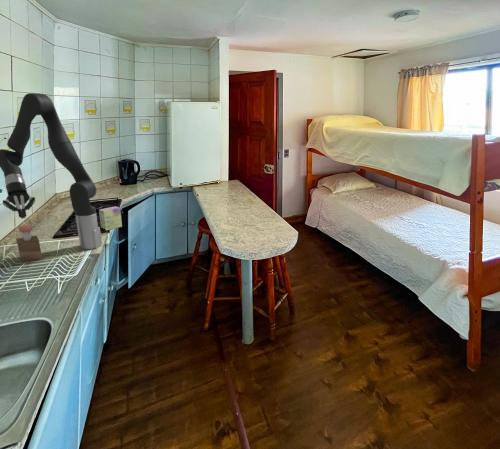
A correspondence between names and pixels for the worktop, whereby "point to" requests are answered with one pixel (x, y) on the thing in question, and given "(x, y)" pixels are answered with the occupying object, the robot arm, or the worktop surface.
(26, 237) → the red mushroom
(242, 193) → the worktop surface
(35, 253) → the housing
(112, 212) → the box
